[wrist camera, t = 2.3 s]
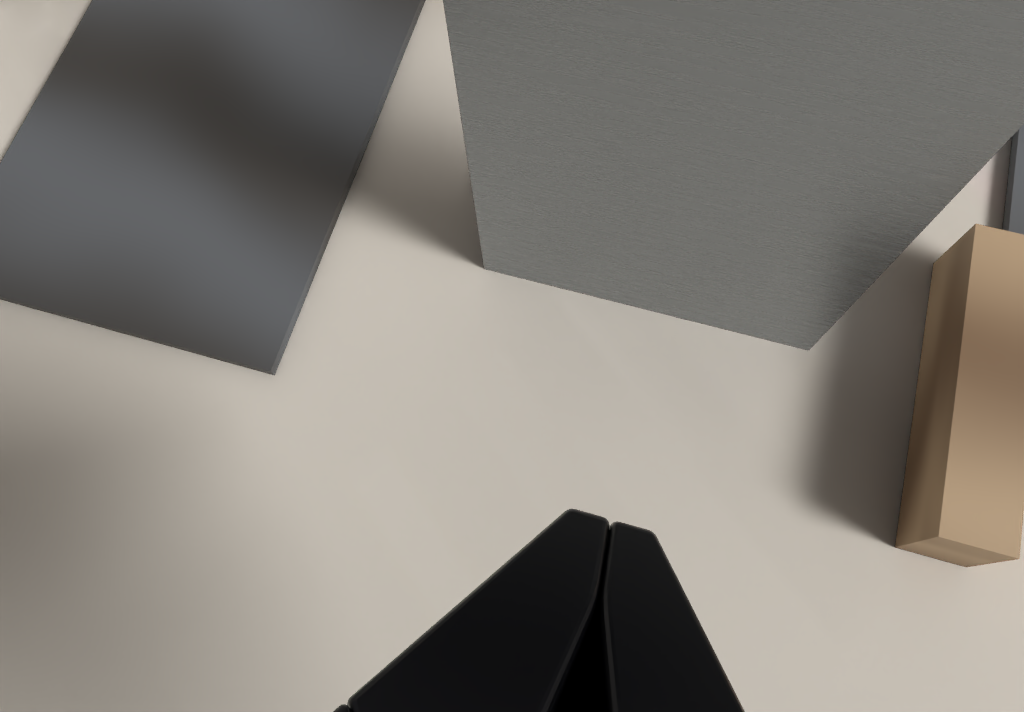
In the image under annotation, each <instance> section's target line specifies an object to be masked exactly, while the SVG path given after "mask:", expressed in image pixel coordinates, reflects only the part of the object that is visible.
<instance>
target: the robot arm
mask: <svg viewBox="0 0 1024 712" xmlns="http://www.w3.org/2000/svg"><path fill="white" fill-rule="evenodd" d="M333 712H745V711H744V709H743V707H742V705H741V703H740V702H739V700H738V698H737V696H736V694H735V692H734V690H733V688H732V686H731V684H730V682H729V680H728V678H727V676H726V674H725V672H724V670H723V668H722V666H721V664H720V662H719V660H718V658H717V656H716V654H715V652H714V650H713V648H712V646H711V644H710V642H709V640H708V638H707V636H706V634H705V632H704V630H703V628H702V626H701V624H700V622H699V620H698V618H697V616H696V614H695V612H694V610H693V608H692V606H691V604H690V602H689V600H688V598H687V596H686V594H685V592H684V590H683V588H682V586H681V584H680V582H679V580H678V578H677V576H676V574H675V573H674V571H673V569H672V567H671V565H670V563H669V561H668V559H667V557H666V555H665V553H664V551H663V549H662V547H661V545H660V543H659V541H658V539H657V537H656V535H655V534H654V533H653V532H652V531H650V530H647V529H643V528H640V527H636V526H632V525H629V524H625V523H622V522H613V523H612V524H611V526H610V528H609V522H608V520H607V519H606V518H604V517H601V516H597V515H594V514H590V513H587V512H583V511H580V510H576V509H569V510H567V511H565V512H564V513H563V514H562V515H560V516H559V517H558V518H557V519H556V520H555V521H554V522H552V523H551V524H550V525H549V526H548V527H547V528H545V529H544V530H543V531H542V532H541V533H540V534H538V535H537V536H536V537H535V538H534V539H533V540H532V541H530V542H529V543H528V544H527V545H526V546H525V547H523V548H522V549H521V550H520V551H519V552H518V553H517V554H515V555H514V556H513V557H512V558H511V559H510V560H508V561H507V562H506V563H505V564H504V565H503V566H502V567H500V568H499V569H498V570H497V571H496V572H495V573H493V574H492V575H491V576H490V577H489V578H488V579H487V580H485V581H484V582H483V583H482V584H481V585H480V586H478V587H477V588H476V589H475V590H474V591H473V592H471V593H470V594H469V595H468V596H467V597H466V598H465V599H463V600H462V601H461V602H460V603H459V604H458V605H456V606H455V607H454V608H453V609H452V610H451V611H450V612H448V613H447V614H446V615H445V616H444V617H443V618H441V619H440V620H439V621H438V622H437V623H436V624H435V625H433V626H432V627H431V628H430V629H429V630H428V631H426V632H425V633H424V634H423V635H422V636H421V637H420V638H418V639H417V640H416V641H415V642H414V643H413V644H411V645H410V646H409V647H408V648H407V649H406V650H404V651H403V652H402V653H401V654H400V655H399V656H398V657H396V658H395V659H394V660H393V661H392V662H391V663H389V664H388V665H387V666H386V667H385V668H384V669H383V670H381V671H380V672H379V673H378V674H377V675H376V676H374V677H373V678H372V679H371V680H370V681H369V682H368V683H366V684H365V685H364V686H363V687H362V688H361V689H359V690H358V691H357V692H356V693H355V694H354V695H352V696H351V697H350V698H349V700H348V703H347V705H345V704H344V705H340V706H339V707H338V708H337V709H336V710H334V711H333Z"/></svg>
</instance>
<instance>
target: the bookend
mask: <svg viewBox="0 0 1024 712" xmlns="http://www.w3.org/2000/svg"><path fill="white" fill-rule="evenodd" d="M443 3H444V10H445V16H446V23H447V30H448V36H449V43H450V49H451V56H452V62H453V69H454V75H455V82H456V88H457V95H458V101H459V108H460V114H461V121H462V128H463V134H464V141H465V147H466V154H467V160H468V167H469V173H470V180H471V186H472V193H473V199H474V206H475V212H476V219H477V226H478V232H479V239H480V245H481V252H482V258H483V265H484V269H487V270H491V271H495V272H499V273H503V274H506V275H510V276H514V277H518V278H522V279H526V280H530V281H534V282H538V283H542V284H546V285H550V286H554V287H558V288H562V289H566V290H570V291H574V292H578V293H582V294H586V295H590V296H594V297H598V298H602V299H606V300H610V301H614V302H618V303H622V304H626V305H630V306H634V307H638V308H642V309H646V310H650V311H654V312H658V313H662V314H666V315H670V316H674V317H677V318H681V319H685V320H689V321H693V322H697V323H701V324H705V325H709V326H713V327H717V328H721V329H725V330H729V331H733V332H737V333H741V334H745V335H749V336H753V337H757V338H761V339H765V340H769V341H773V342H777V343H781V344H785V345H789V346H793V347H797V348H801V349H805V350H810V349H811V348H812V347H813V346H814V344H815V343H816V342H817V341H818V340H819V339H820V338H821V337H822V336H823V335H824V334H825V333H826V332H827V331H828V330H829V329H830V328H831V327H832V325H833V324H834V323H835V322H836V321H837V320H838V319H839V318H840V317H841V316H842V315H843V314H844V313H845V312H846V311H847V310H848V309H849V308H850V307H851V305H852V304H853V303H854V302H855V301H856V300H857V299H858V298H859V297H860V296H861V295H862V294H863V293H864V292H865V291H866V290H867V289H868V288H869V287H870V285H871V284H872V283H873V282H874V281H875V280H876V279H877V278H878V277H879V276H880V275H881V274H882V273H883V272H884V271H885V270H886V269H887V268H888V267H889V265H890V264H891V263H892V262H893V261H894V260H895V259H896V258H897V257H898V256H899V255H900V254H901V253H902V252H903V251H904V250H905V249H906V248H907V246H908V245H909V244H910V243H911V242H912V241H913V240H914V239H915V238H916V237H917V236H918V235H919V234H920V233H921V232H922V231H923V230H924V229H925V228H926V226H927V225H928V224H929V223H930V222H931V221H932V220H933V219H934V218H935V217H936V216H937V215H938V214H939V213H940V212H941V211H942V210H943V209H944V208H945V206H946V205H947V204H948V203H949V202H950V201H951V200H952V199H953V198H954V197H955V196H956V195H957V194H958V193H959V192H960V191H961V190H962V189H963V188H964V186H965V185H966V184H967V183H968V182H969V181H970V180H971V179H972V178H973V177H974V176H975V175H976V174H977V173H978V172H979V171H980V170H981V169H982V167H983V166H984V165H985V164H986V163H987V162H988V161H989V160H990V159H991V158H992V157H993V156H994V155H995V154H996V153H997V152H998V151H999V150H1000V149H1001V147H1002V146H1003V145H1004V144H1005V143H1006V142H1007V141H1008V140H1009V139H1010V138H1011V137H1012V136H1013V135H1014V134H1015V133H1016V132H1017V131H1018V130H1019V129H1020V127H1021V126H1022V125H1023V124H1024V0H443Z"/></svg>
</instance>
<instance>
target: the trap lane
mask: <svg viewBox="0 0 1024 712" xmlns="http://www.w3.org/2000/svg"><path fill="white" fill-rule="evenodd" d="M424 2H425V0H92V2H91V4H90V6H89V7H88V9H87V11H86V13H85V14H84V16H83V18H82V20H81V22H80V23H79V25H78V27H77V29H76V30H75V32H74V34H73V36H72V37H71V39H70V41H69V43H68V45H67V46H66V48H65V50H64V52H63V53H62V55H61V57H60V59H59V60H58V62H57V64H56V66H55V67H54V69H53V71H52V73H51V75H50V76H49V78H48V80H47V82H46V83H45V85H44V87H43V89H42V90H41V92H40V94H39V96H38V98H37V99H36V101H35V103H34V105H33V106H32V108H31V110H30V112H29V113H28V115H27V117H26V119H25V121H24V122H23V124H22V126H21V128H20V129H19V131H18V133H17V135H16V136H15V138H14V140H13V142H12V144H11V145H10V147H9V149H8V151H7V152H6V154H5V156H4V158H3V159H2V161H1V163H0V299H2V300H5V301H9V302H13V303H16V304H20V305H23V306H27V307H31V308H34V309H38V310H41V311H45V312H49V313H52V314H56V315H59V316H63V317H67V318H70V319H74V320H78V321H81V322H85V323H88V324H92V325H96V326H99V327H103V328H106V329H110V330H114V331H117V332H121V333H124V334H128V335H132V336H135V337H139V338H142V339H146V340H150V341H153V342H157V343H160V344H164V345H168V346H171V347H175V348H178V349H182V350H186V351H189V352H193V353H196V354H200V355H204V356H207V357H211V358H215V359H218V360H222V361H225V362H229V363H233V364H236V365H240V366H243V367H247V368H251V369H254V370H258V371H261V372H265V373H269V374H272V375H275V373H276V370H277V368H278V365H279V363H280V360H281V358H282V355H283V353H284V350H285V348H286V345H287V343H288V340H289V338H290V336H291V333H292V331H293V328H294V326H295V323H296V321H297V318H298V316H299V313H300V311H301V308H302V306H303V303H304V301H305V298H306V296H307V293H308V291H309V288H310V286H311V283H312V281H313V278H314V276H315V273H316V271H317V268H318V266H319V263H320V261H321V258H322V256H323V253H324V251H325V249H326V246H327V244H328V241H329V239H330V236H331V234H332V231H333V229H334V226H335V224H336V221H337V219H338V216H339V214H340V211H341V209H342V206H343V204H344V201H345V199H346V196H347V194H348V191H349V189H350V186H351V184H352V181H353V179H354V176H355V174H356V171H357V169H358V166H359V164H360V161H361V159H362V157H363V154H364V152H365V149H366V147H367V144H368V142H369V139H370V137H371V134H372V132H373V129H374V127H375V124H376V122H377V119H378V117H379V114H380V112H381V109H382V107H383V104H384V102H385V99H386V97H387V94H388V92H389V89H390V87H391V84H392V82H393V79H394V77H395V74H396V72H397V70H398V67H399V65H400V62H401V60H402V57H403V55H404V52H405V50H406V47H407V45H408V42H409V40H410V37H411V35H412V32H413V30H414V27H415V25H416V22H417V20H418V17H419V15H420V12H421V10H422V7H423V5H424ZM1023 511H1024V124H1023V125H1022V126H1021V127H1020V129H1019V130H1018V131H1017V132H1016V133H1015V134H1014V135H1013V137H1012V146H1011V156H1010V165H1009V174H1008V184H1007V193H1006V202H1005V212H1004V221H1003V230H1001V229H997V228H993V227H988V226H984V225H979V224H975V225H974V226H973V227H972V228H971V229H970V230H969V231H968V232H966V233H965V234H964V235H963V236H962V237H961V238H960V239H959V240H958V241H957V242H956V243H955V244H954V245H953V246H952V247H950V248H949V249H948V250H947V251H946V252H945V253H944V254H943V255H942V256H941V257H940V258H939V259H938V260H937V261H936V262H935V263H933V271H932V278H931V286H930V293H929V300H928V308H927V315H926V322H925V330H924V337H923V345H922V352H921V359H920V367H919V374H918V382H917V389H916V396H915V404H914V411H913V418H912V426H911V433H910V441H909V448H908V455H907V463H906V470H905V478H904V485H903V492H902V500H901V507H900V514H899V522H898V529H897V537H896V544H895V547H896V548H899V549H903V550H907V551H910V552H914V553H917V554H921V555H925V556H928V557H932V558H936V559H939V560H943V561H946V562H950V563H954V564H957V565H961V566H964V567H970V566H977V565H983V564H990V563H996V562H1002V561H1009V560H1015V559H1019V557H1020V546H1021V534H1022V523H1023Z"/></svg>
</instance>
